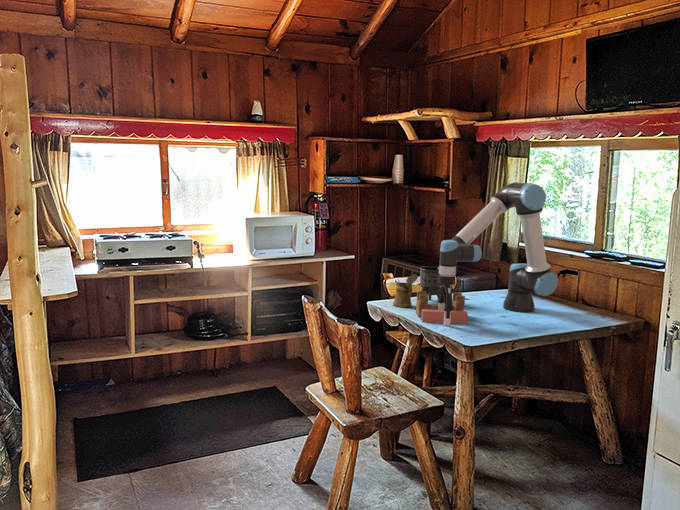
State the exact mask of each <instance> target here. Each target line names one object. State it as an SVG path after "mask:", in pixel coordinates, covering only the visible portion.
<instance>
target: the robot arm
mask: <svg viewBox="0 0 680 510" xmlns="http://www.w3.org/2000/svg"><path fill="white" fill-rule="evenodd" d="M546 200H547V195H546V192H545V190H544V188H543V187H542V186H541V185H538V184H536V183H533V182H529V183H527V182H519V181H518V182H511V183H508V184H506V185H505V186H503V187H502V188H501V189H499V190H498V191H496V193H495V194H494V195H493V196H492V197H491V198H490V202H489V203H488V204H487V205H485V207H483V208H482V209H481V210H480V211H479V212H478V213H477V214H476V215H475V216H474V217H473V218H472V219H471V220H470V221H469V222H468V223H467V224H466V225H464V227H463V228H462V229H461V230H459V231H458V232H457V234H456V235H455V236H453V238H451V239H445V240H442V241H441V243H440V249H439V262H438V263H439V264H438V265H439V266H437V267H438V269H439V274H440V275H439V276H438V283H439V284H440V290H439V295H438V297H437V301H438V303H437V305H438V310H444V311H445V312H444V323H443V326H451V323H450V319H451V311H452V310H453V309H452V299H453V288H451V286H454V285H455V284H456V274H457V262H459V263H460V262H461V263H462V262H463V263H464V262H471V263H473V262H478V261H480V260H481V258H482V255H483V252H482V248H481V246H480V245H478V244H471V243H472V242H474V240H475V239H477V238H478V237H479V236H480V234H482V233H483V232H484V231H485V230H486V229H487V228H488V227H489V226H490V225H491V224H492V223H494V221H495V220H496V219H497V218H498V217H499V216H500V215H501V214H503V213H504V214H505V213H507V211H509V209H510V210H511V208H515V213H516V215H517V216H518V217H519V218H520V222H521V229H522V237H523V242H524V249H525V256H526V263H512V264H510V267H509V276H508V286H507V287H508V290H507V294H506V296H505V298H504V301H503V302H502V303H503V304H502V307H503V309H505V310H508V311H512V312H517V313H532V312H534V311H535V309H536V307H535V306H536V305H535V302H534V297H533V294H535V295H537V296H542V297H545V296H546V297H547V296H550V295H552V294H553V293H554V291H555V289H557V287H558V281H559V279H558V277H557V275H556V274H555V273H554V272H552V267H551V266H552V265H551V264H549V263H548V262H547V255H546V249H545V242H544V236H543V229H542V222H541V221H542V220H541V214H542V212H543V207H544V206H545V203H546V202H547V201H546ZM444 305H445V309H444Z"/></svg>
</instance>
